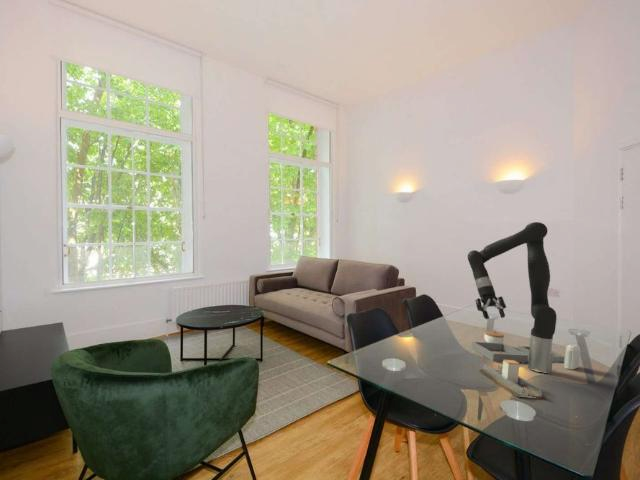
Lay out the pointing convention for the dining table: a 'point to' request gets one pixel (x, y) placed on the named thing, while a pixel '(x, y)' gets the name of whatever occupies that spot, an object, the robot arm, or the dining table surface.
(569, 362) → the white ridged block
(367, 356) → the dining table surface
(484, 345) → the large tray rim
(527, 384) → the rail board
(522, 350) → the small tray rim
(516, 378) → the block
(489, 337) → the lidded jar
